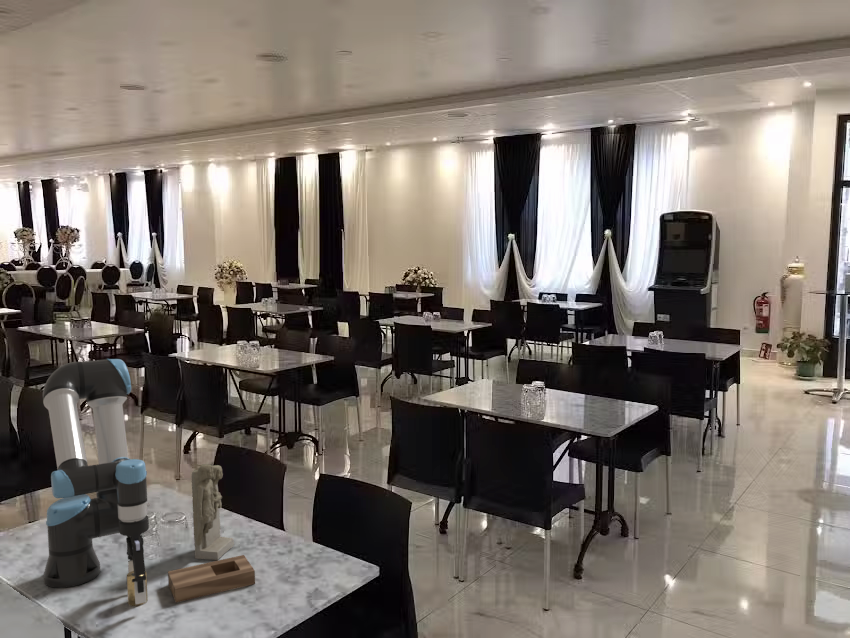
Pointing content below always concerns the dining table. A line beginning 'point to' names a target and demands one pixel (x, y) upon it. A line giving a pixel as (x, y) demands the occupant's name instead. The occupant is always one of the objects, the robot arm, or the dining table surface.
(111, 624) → the dining table surface
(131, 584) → the bushing
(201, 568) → the block
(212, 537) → the sculpture
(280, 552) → the dining table surface
